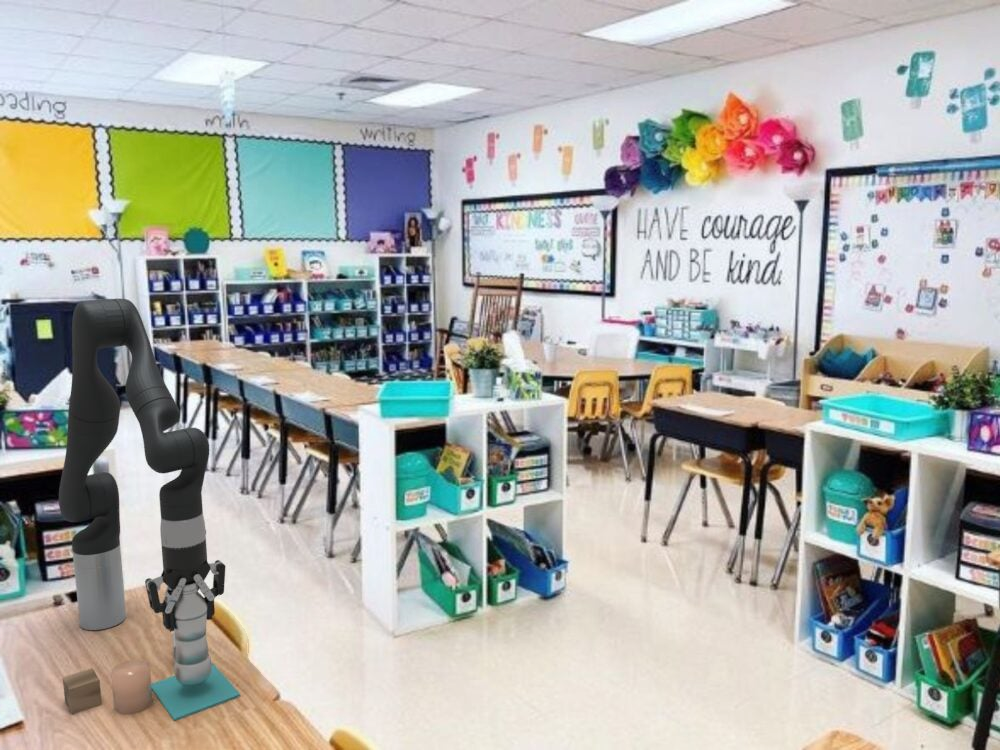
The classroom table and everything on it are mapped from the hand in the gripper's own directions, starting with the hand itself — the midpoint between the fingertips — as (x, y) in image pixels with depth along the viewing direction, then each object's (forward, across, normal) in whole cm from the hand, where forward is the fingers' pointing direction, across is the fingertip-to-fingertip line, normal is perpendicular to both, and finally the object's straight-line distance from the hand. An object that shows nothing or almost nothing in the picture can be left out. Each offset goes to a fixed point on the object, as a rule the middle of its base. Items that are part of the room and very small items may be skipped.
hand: (189, 623), depth 148 cm
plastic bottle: (+12, 0, 0) cm, 12 cm away
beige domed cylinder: (+14, +10, -3) cm, 17 cm away
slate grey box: (+14, -3, -14) cm, 20 cm away
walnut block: (+14, +17, -9) cm, 24 cm away
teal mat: (+14, 0, 0) cm, 14 cm away
